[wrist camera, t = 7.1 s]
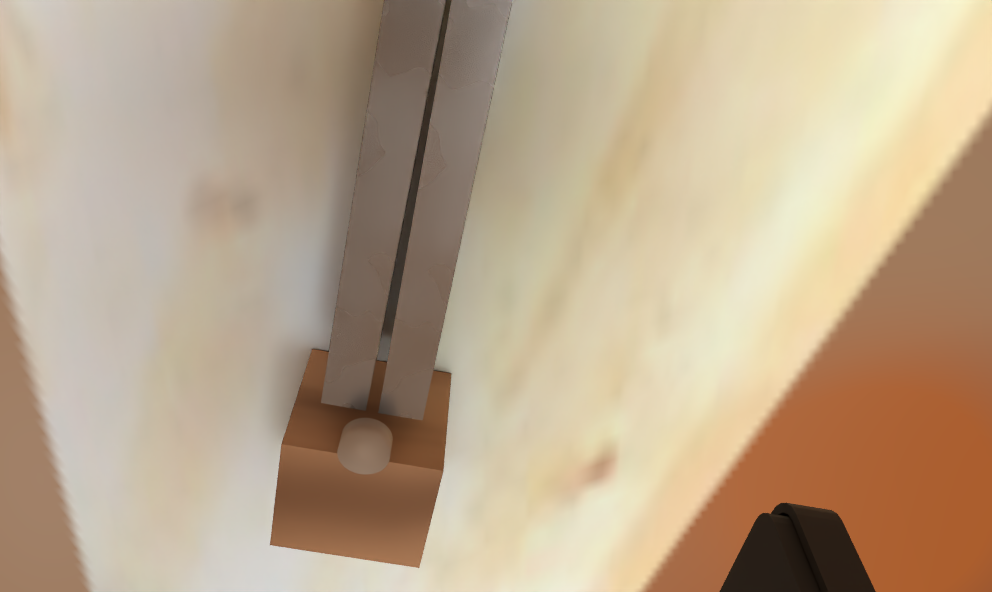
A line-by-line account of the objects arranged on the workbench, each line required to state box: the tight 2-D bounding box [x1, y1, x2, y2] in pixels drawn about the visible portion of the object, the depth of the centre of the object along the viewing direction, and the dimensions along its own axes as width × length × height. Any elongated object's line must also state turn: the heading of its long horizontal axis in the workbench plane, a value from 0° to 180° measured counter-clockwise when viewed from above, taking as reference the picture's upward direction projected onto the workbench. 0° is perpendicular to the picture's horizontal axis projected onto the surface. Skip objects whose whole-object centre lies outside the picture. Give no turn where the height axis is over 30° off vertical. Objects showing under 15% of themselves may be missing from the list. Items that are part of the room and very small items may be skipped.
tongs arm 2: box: [321, 0, 447, 411], centre depth 23 cm, size 20×1×3 cm, turn 167°
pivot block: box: [270, 349, 451, 568], centre depth 30 cm, size 6×5×5 cm
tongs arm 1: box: [378, 0, 512, 420], centre depth 23 cm, size 20×1×3 cm, turn 168°
